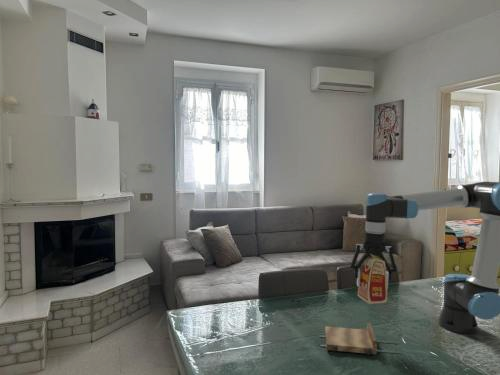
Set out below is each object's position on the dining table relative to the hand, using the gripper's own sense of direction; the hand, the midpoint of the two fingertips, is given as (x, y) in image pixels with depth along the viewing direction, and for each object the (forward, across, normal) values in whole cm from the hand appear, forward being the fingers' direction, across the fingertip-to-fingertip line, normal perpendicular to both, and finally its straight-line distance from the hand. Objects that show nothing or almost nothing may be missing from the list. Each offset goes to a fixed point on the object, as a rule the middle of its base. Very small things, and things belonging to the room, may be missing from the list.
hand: (372, 287), depth 147 cm
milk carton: (+5, 0, 0) cm, 5 cm away
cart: (+22, +8, +5) cm, 24 cm away
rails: (+22, +5, +5) cm, 23 cm away
